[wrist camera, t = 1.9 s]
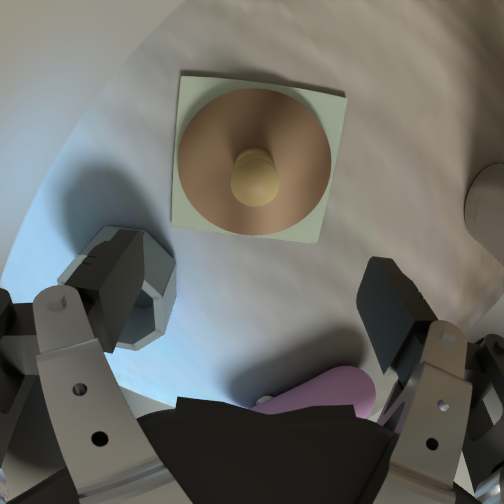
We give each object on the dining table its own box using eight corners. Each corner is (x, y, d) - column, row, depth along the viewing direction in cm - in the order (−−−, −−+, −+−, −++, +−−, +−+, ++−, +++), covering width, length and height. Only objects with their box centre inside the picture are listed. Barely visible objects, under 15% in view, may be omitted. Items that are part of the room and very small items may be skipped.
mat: (345, 98, 22) (347, 98, 21) (316, 241, 28) (317, 244, 28) (182, 76, 21) (181, 76, 21) (172, 224, 27) (171, 227, 27)
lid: (340, 103, 22) (366, 107, 16) (312, 238, 27) (326, 275, 22) (186, 82, 21) (166, 79, 16) (177, 222, 27) (159, 256, 22)
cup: (177, 230, 28) (161, 265, 22) (177, 315, 32) (166, 355, 27) (81, 220, 27) (50, 250, 22) (94, 301, 32) (73, 337, 27)
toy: (349, 339, 36) (222, 404, 40) (370, 393, 28) (221, 455, 33) (372, 369, 39) (255, 425, 44) (391, 417, 31) (259, 472, 36)
